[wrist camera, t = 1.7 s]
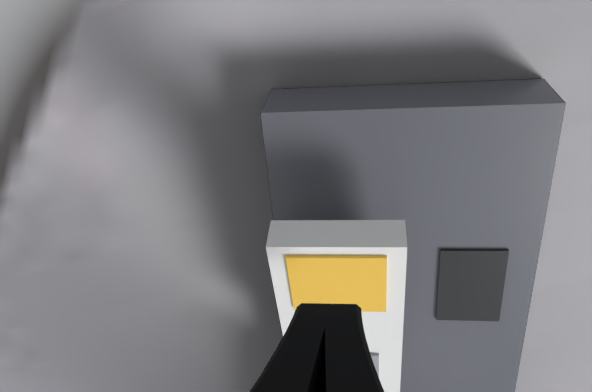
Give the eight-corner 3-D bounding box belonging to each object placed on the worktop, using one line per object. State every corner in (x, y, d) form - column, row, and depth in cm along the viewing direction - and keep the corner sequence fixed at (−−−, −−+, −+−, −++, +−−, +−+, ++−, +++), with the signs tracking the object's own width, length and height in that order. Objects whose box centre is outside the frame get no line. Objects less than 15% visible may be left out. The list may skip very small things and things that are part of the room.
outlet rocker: (398, 366, 19) (400, 395, 18) (296, 362, 19) (293, 391, 18) (405, 219, 14) (407, 250, 13) (270, 220, 15) (265, 249, 14)
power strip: (479, 503, 26) (490, 567, 24) (313, 493, 27) (308, 552, 25) (543, 78, 16) (576, 114, 13) (271, 89, 17) (255, 123, 14)
